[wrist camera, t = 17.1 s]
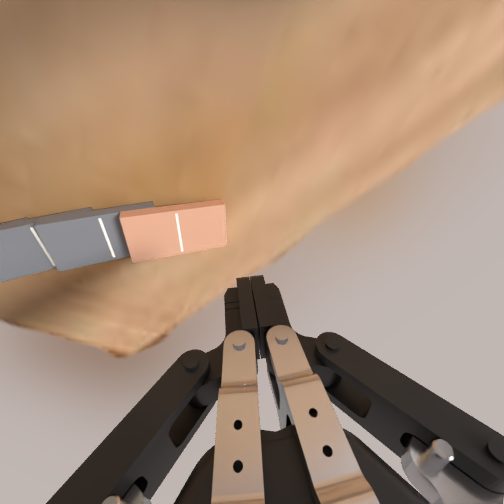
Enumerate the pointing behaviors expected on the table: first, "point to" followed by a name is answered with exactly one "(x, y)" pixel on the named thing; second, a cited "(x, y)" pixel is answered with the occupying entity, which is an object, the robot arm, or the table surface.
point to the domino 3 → (174, 229)
